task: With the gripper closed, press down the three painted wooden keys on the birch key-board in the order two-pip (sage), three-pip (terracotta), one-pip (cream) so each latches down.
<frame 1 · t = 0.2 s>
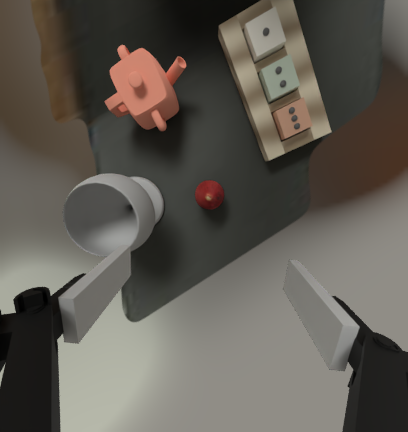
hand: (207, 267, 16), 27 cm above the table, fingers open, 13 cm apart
key two: (277, 81, 33), point 3 cm above the table, slide at 0.0 cm
key board: (272, 88, 36), on the table
key one: (263, 38, 32), point 3 cm above the table, slide at 0.0 cm
chalice: (138, 203, 43), on the table
onion: (209, 192, 42), on the table
teapot: (158, 102, 38), on the table
key three: (291, 120, 35), point 3 cm above the table, slide at 0.0 cm
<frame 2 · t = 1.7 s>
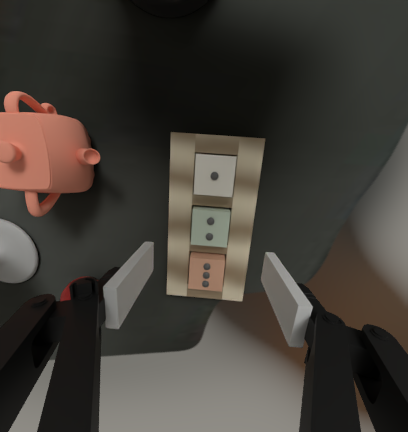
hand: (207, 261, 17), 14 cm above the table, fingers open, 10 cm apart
key two: (210, 225, 27), point 3 cm above the table, slide at 0.0 cm
key board: (210, 220, 30), on the table
key one: (214, 175, 25), point 3 cm above the table, slide at 0.0 cm
chalice: (7, 250, 33), on the table
onion: (97, 281, 34), on the table
teapot: (76, 160, 29), on the table
key three: (206, 269, 29), point 3 cm above the table, slide at 0.0 cm
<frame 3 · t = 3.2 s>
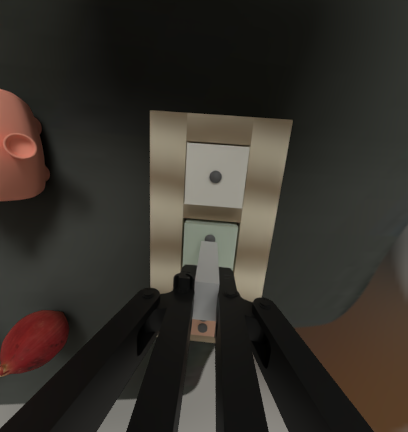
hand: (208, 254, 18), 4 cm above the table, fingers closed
key two: (209, 244, 20), point 2 cm above the table, slide at 0.8 cm, touching gripper
key board: (209, 236, 22), on the table
key one: (215, 175, 17), point 3 cm above the table, slide at 0.0 cm
onion: (63, 313, 26), on the table
teapot: (24, 154, 21), on the table
key three: (204, 306, 21), point 3 cm above the table, slide at 0.0 cm
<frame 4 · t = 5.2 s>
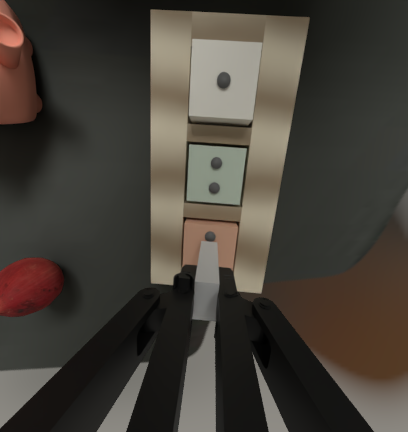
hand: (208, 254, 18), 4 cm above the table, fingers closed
key two: (215, 174, 18), point 2 cm above the table, slide at 1.2 cm
key board: (215, 174, 20), on the table
key one: (222, 88, 15), point 3 cm above the table, slide at 0.0 cm
onion: (58, 266, 25), on the table
teapot: (14, 82, 19), on the table
key three: (209, 244, 20), point 3 cm above the table, slide at 0.5 cm, touching gripper
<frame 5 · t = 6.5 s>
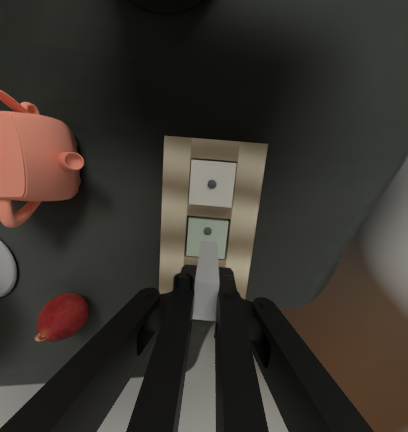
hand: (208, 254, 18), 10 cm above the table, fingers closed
key two: (207, 235, 26), point 2 cm above the table, slide at 1.2 cm
key board: (207, 231, 27), on the table
key one: (211, 183, 23), point 3 cm above the table, slide at 0.0 cm
onion: (82, 297, 31), on the table
teapot: (61, 165, 26), on the table
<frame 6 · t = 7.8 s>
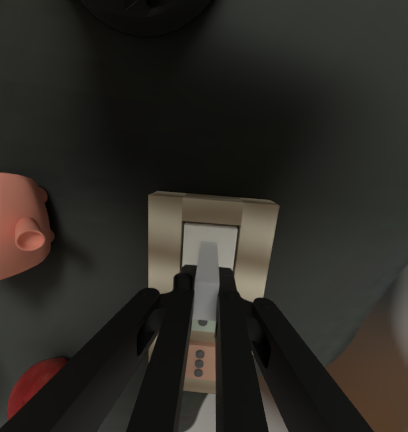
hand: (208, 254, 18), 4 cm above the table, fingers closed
key two: (204, 303, 21), point 2 cm above the table, slide at 1.2 cm
key board: (204, 292, 23), on the table
key one: (209, 245, 20), point 2 cm above the table, slide at 1.2 cm, touching gripper
onion: (66, 357, 27), on the table
teapot: (30, 218, 22), on the table
key three: (200, 351, 23), point 2 cm above the table, slide at 1.2 cm
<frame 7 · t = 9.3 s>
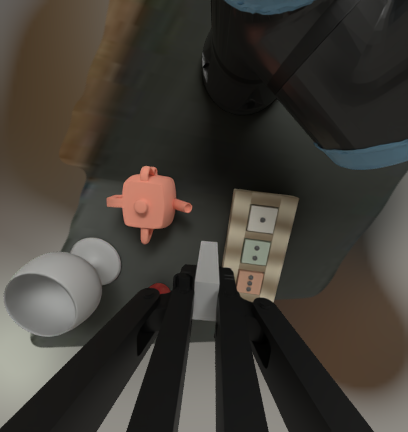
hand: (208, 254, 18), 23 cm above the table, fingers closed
key two: (254, 250, 40), point 2 cm above the table, slide at 1.2 cm
key board: (252, 246, 42), on the table
key one: (260, 218, 38), point 2 cm above the table, slide at 1.2 cm
chalice: (96, 260, 44), on the table
onion: (162, 286, 45), on the table
teapot: (160, 200, 40), on the table
key three: (248, 279, 41), point 2 cm above the table, slide at 1.2 cm
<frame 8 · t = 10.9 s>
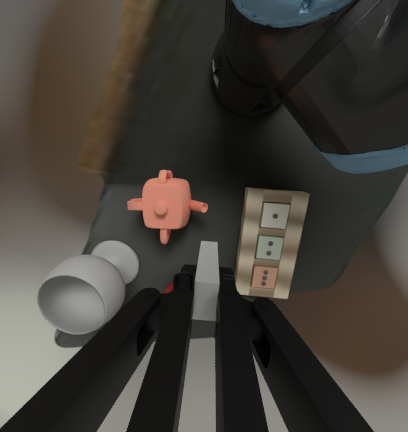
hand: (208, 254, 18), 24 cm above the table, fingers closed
key two: (267, 245, 41), point 2 cm above the table, slide at 1.2 cm
key board: (265, 242, 43), on the table
key one: (273, 214, 39), point 2 cm above the table, slide at 1.2 cm
chalice: (116, 262, 46), on the table
onion: (179, 284, 47), on the table
teapot: (174, 202, 42), on the table
key three: (262, 274, 43), point 2 cm above the table, slide at 1.2 cm
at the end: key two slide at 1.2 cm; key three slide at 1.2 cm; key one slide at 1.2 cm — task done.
